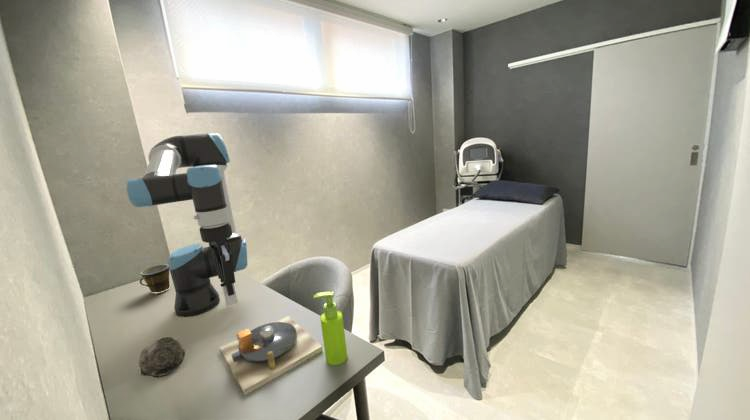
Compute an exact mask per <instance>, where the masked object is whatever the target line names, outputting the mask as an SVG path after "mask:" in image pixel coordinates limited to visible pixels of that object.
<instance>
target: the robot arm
mask: <svg viewBox="0 0 750 420" xmlns="http://www.w3.org/2000/svg"><path fill="white" fill-rule="evenodd" d="M230 162H231V160H230V157H229V154H228V150H227V147H226V144H225V142H224V139H223V137H222V135H221V134H219V133H208V132H207V133H201V134H199V133H198V134H187V135H185V134H184V135H175V136H171V137H168V138H164V139H163V140H161V141H159V142H158V143H156V144H155V145H154V146H153V147H151V149H150V150H149V153H148V165H147V168H146V169H145V172H144V175H143V177H138V178H133V179H129V180H128V181H127V182H126V192H127V197H128V199H129V202H130V204H131V205H132V206H134V207H135V208H144V207H145V208H146V207H150V208H151V207H154V206H160V205H165V204H166V205H167V204H171V203H179V202H186V201H190V200H191V201H192V202H193V207H194V212H195V214H196V215H194V216H193V218H194V220H197V224H198V227H199V234H200V237H201V241H202V242H203V243H208V246H205V247H204V246H203V245H202V244H200V243H197V244H196V243H195V244H190V245H187V246H183V247H181V248H178V249H177V250H175V251H173V252H172V253H171V254H169V256H168V257H167V263H168V264H167V265H169V274H170V276H171V280H172V284H173V288H174V290H175V297H174V298H175V299H174V306H173V309H174V312H175V315H176V316H177V317H179V318H191V317H196V316H200V315H203V314H204V313H207V312H209V311H211V310H213V309H214V308H216V307H217V306H218V305H219V303H220V301H221V298H220V294H219V293H218V291H217V289H216V288H215V286H214V285H213V284H212V282H211V278H215V277H217V278H218V279H219V281H220V287H222V291H223V296H224V299H225V300H224V301H225V305H226V306H227V307H228V308H229V307H230V306H234V305H237V304H238V302H239V301H238V298H237V297H238V296H237V292H236V288H235V283H236V276H235V273H236V272H239V271H242V270H245V269H246V268H247V267H248V249H247V248H248V246H247V240H246V239H245V238H242V235H241V234H240V233H238V232H237V230H236V225H235V221H234V215H233V211H232V207H231V200H230V196H229V189H228V186H227V181H226V176H225V171H226V170H227V169H228V165H227V164H229V163H230ZM181 168H187V169H186V172H183V173H177V169H181ZM176 173H177V174H176Z"/></svg>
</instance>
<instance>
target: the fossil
mask: <svg viewBox="0 0 750 420" xmlns="http://www.w3.org/2000/svg"><path fill="white" fill-rule="evenodd" d="M185 356H186V351H185V349H184V348H183V346H182V344H181V342H180V341H179V340H178V339H175V338H174V337H171V336H169V335H168V336H166V335H165V336H162V337H160V338H157V339H155V340H154V341H152V342H151V343H149V345H147V346H145V347H144V348H143V349H142V350H141V352H140V353H139V359H138V365H139V368H140V374H141V375H143V376H145V377H152V378H156V379H159V378H163V377H166V376H169V375H171V374H172V373H174V372H176V370H178V369H179V367H180V366H181V365H182V364H183V362H184V359H185Z"/></svg>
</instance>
